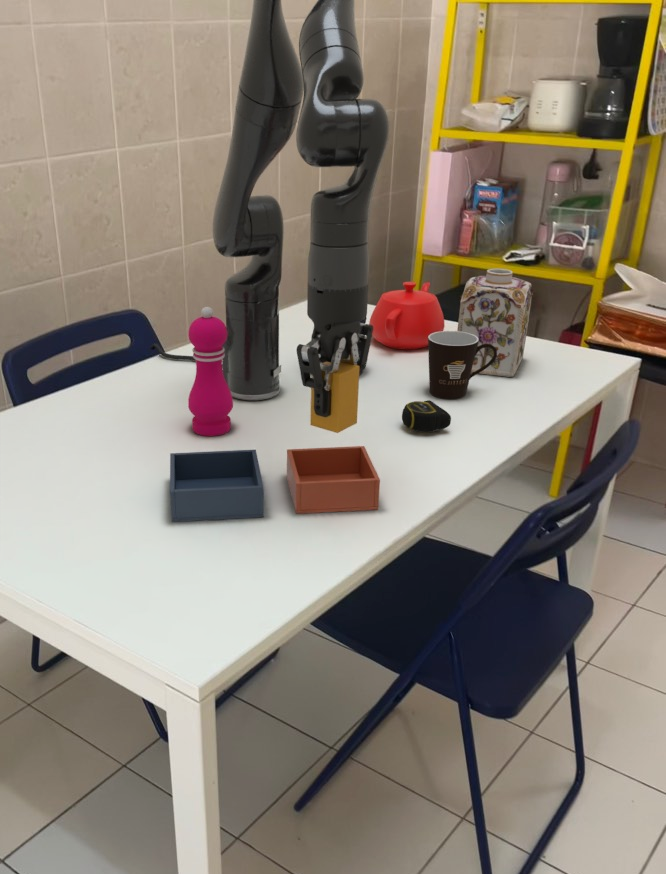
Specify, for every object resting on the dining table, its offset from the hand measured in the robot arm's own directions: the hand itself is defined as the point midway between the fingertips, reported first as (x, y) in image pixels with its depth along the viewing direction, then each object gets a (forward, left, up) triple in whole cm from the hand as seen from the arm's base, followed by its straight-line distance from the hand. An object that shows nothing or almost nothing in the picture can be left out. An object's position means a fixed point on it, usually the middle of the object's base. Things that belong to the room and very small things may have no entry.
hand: (333, 409), depth 117 cm
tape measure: (+2, +29, -13) cm, 32 cm away
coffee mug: (+1, +46, -13) cm, 48 cm away
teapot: (-19, +71, -13) cm, 74 cm away
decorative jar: (+1, +64, -13) cm, 65 cm away
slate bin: (-13, -9, -13) cm, 20 cm away
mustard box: (0, 0, -2) cm, 2 cm away
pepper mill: (-28, +11, -13) cm, 32 cm away
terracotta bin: (0, 0, -13) cm, 13 cm away
